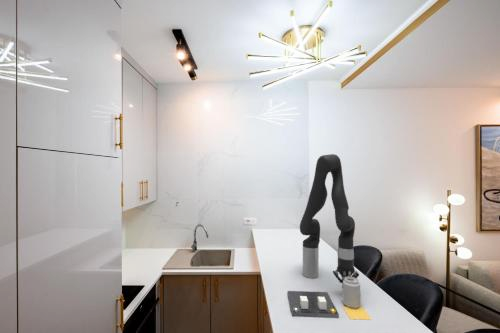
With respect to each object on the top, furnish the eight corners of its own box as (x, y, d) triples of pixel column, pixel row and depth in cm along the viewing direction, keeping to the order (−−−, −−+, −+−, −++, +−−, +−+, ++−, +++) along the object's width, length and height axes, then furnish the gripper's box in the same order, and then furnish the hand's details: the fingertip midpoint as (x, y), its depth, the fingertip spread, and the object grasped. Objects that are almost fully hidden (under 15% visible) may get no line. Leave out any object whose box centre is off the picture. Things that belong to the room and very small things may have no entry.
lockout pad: (342, 306, 110) (342, 306, 110) (362, 307, 109) (362, 306, 109) (349, 319, 101) (349, 318, 101) (371, 319, 100) (371, 319, 100)
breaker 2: (317, 304, 109) (317, 296, 109) (324, 304, 108) (324, 296, 108) (319, 309, 105) (319, 301, 105) (326, 309, 104) (326, 301, 104)
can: (355, 300, 115) (355, 275, 115) (363, 309, 108) (363, 282, 108) (340, 300, 115) (340, 275, 115) (347, 309, 107) (347, 282, 107)
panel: (287, 293, 121) (287, 288, 121) (327, 295, 120) (327, 289, 120) (291, 316, 103) (291, 309, 103) (338, 317, 102) (338, 311, 102)
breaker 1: (299, 303, 109) (299, 295, 109) (306, 303, 109) (306, 296, 109) (301, 308, 105) (301, 300, 105) (308, 309, 105) (308, 301, 105)
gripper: (334, 258, 116) (334, 294, 116) (362, 259, 115) (362, 295, 115) (330, 253, 123) (330, 286, 123) (356, 253, 122) (356, 287, 122)
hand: (345, 290), depth 119 cm, fingers closed
